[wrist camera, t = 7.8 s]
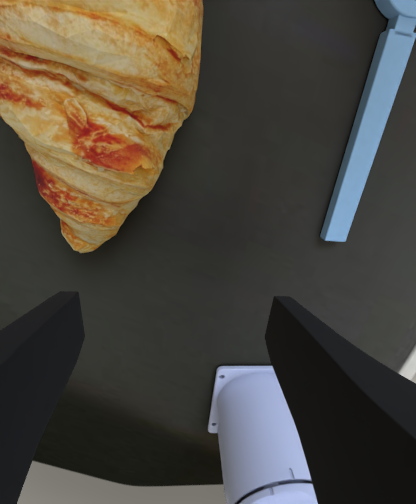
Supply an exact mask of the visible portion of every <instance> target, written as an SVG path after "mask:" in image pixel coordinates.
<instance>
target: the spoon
mask: <svg viewBox="0 0 416 504" xmlns="http://www.w3.org/2000/svg"><path fill="white" fill-rule="evenodd" d="M374 1H375V3H376V5H377V7H378V9H379V10H380V12H381V13H382V14H383V15H384V16H385V17H386V18H388V19H389V21H388V24H387V28H386V31H384V32H382V33H381V34H380V37H379V40H378V43H377V47H376V50H375V53H374V57H373V60H372V63H371V67H370V70H369V73H368V77H367V80H366V84H365V87H364V90H363V94H362V97H361V100H360V104H359V107H358V110H357V114H356V117H355V121H354V124H353V127H352V131H351V134H350V137H349V141H348V144H347V147H346V151H345V154H344V157H343V161H342V164H341V168H340V171H339V174H338V178H337V181H336V184H335V188H334V191H333V194H332V198H331V201H330V204H329V208H328V211H327V215H326V218H325V221H324V225H323V228H322V231H321V235H320V237H321V238H322V239H323V240H325V241H339V242H345V241H346V238H347V235H348V232H349V229H350V226H351V224H352V221H353V218H354V215H355V212H356V209H357V206H358V203H359V200H360V197H361V195H362V192H363V189H364V186H365V183H366V180H367V177H368V174H369V171H370V169H371V166H372V163H373V160H374V157H375V154H376V151H377V148H378V145H379V142H380V140H381V137H382V134H383V131H384V128H385V125H386V122H387V119H388V116H389V113H390V111H391V108H392V105H393V102H394V99H395V96H396V93H397V90H398V87H399V84H400V82H401V79H402V76H403V73H404V70H405V67H406V64H407V61H408V58H409V55H410V53H411V50H412V47H413V44H414V41H415V38H416V33H414V32H413V31H414V28H415V25H416V0H374Z"/></svg>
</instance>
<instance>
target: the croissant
mask: <svg viewBox="0 0 416 504" xmlns="http://www.w3.org/2000/svg"><path fill="white" fill-rule="evenodd" d="M202 22H203V1H202V0H0V116H1V117H2V118H3V120H4V121H5V122H6V123H7V124H8V125H10V126H11V127H12V128H13V129H14V130H15V132H16V133H18V135H19V137H20V138H21V139H22V140H23V141H24V142H25V147H26V149H27V151H28V153H29V155H30V156H31V160H32V164H33V169H34V173H35V178H36V183H37V187H38V190H39V192H40V194H41V196H42V197H43V198H44V199H45V200H46V201H47V202H48V204H49V205H50V206H51V208H52V209H53V210H54V211H55V213H56V215H57V216H58V217H59V218H60V222H61V229H62V230H61V233H62V235H63V236H64V237H65V239H66V240H67V242H68V243H69V244H70V246H71V247H72V248H73V250H76V251H79V252H80V253H85V252H90V251H93V250H95V249H97V248H98V247H99V246H100V245H101V244H103V243H104V242H105V241H107V240H109V239H110V238H111V237H113V236H115V235H116V234H117V232H118V230H119V228H120V226H121V225H122V224H123V222H124V220H125V219H126V217H127V216H128V214H129V213H130V212H131V211H132V210H133V209H134V208H135V207H136V206H137V205H138V202H139V200H140V199H141V198H142V197H143V196H145V195H147V194H148V193H149V192H150V191H151V190H152V188H153V186H154V185H155V183H156V181H157V179H158V177H159V175H160V173H161V171H162V169H163V160H164V158H165V155H166V153H167V150H169V149H170V147H171V144H172V141H173V138H174V134H175V132H176V131H177V130H178V128H179V127H181V126H182V123H183V120H185V119H187V118H188V117H189V115H190V114H191V112H192V110H193V106H194V103H195V94H196V90H197V86H198V77H199V68H200V59H201V36H202Z"/></svg>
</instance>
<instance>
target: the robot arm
mask: <svg viewBox="0 0 416 504" xmlns="http://www.w3.org/2000/svg"><path fill="white" fill-rule="evenodd" d="M84 337H85V334H84V327H83V320H82V313H81V307H80V300H79V293H78V292H61V291H60V292H59V293H57V294H55V295H54V296H52V297H50V298H49V299H47V300H46V301H44V302H43V303H41V304H40V305H38V306H37V307H35V308H34V309H32V310H31V311H29V312H28V313H26V314H25V315H23V316H22V317H20V318H19V319H17V320H16V321H14V322H13V323H11V324H10V325H8V326H7V327H5V328H4V329H2V330H0V504H17V501H18V498H19V496H20V493H21V490H22V487H23V484H24V481H25V479H26V476H27V473H28V471H29V468H30V465H31V463H32V460H33V457H34V455H35V452H36V449H37V447H38V444H39V442H40V439H41V437H42V435H43V432H44V430H45V428H46V426H47V424H48V422H49V420H50V417H51V415H52V413H53V411H54V409H55V407H56V405H57V403H58V401H59V399H60V396H61V394H62V392H63V390H64V388H65V386H66V384H67V382H68V380H69V377H70V375H71V373H72V371H73V369H74V367H75V364H76V362H77V359H78V356H79V353H80V350H81V347H82V344H83V341H84ZM265 340H266V345H267V349H268V353H269V357H270V361H271V364H272V366H220V367H218V368H217V371H216V377H215V384H214V390H213V397H212V403H211V410H210V416H209V423H208V431H209V432H210V433H218V439H219V448H220V457H221V465H222V474H223V483H224V491H225V498H226V503H227V504H416V384H415V383H414V382H412V381H410V380H408V379H407V378H405V377H403V376H401V375H400V374H398V373H396V372H395V371H393V370H391V369H390V368H388V367H387V366H385V365H383V364H382V363H380V362H378V361H377V360H375V359H374V358H372V357H371V356H369V355H367V354H366V353H364V352H363V351H362V350H360V349H359V348H357V347H356V346H354V345H353V344H351V343H350V342H349V341H347V340H346V339H344V338H343V337H342V336H340V335H339V334H338V333H336V332H335V331H334V330H332V329H331V328H330V327H328V326H327V325H326V324H324V323H323V322H322V321H321V320H319V319H318V318H317V317H316V316H314V315H313V314H312V313H310V312H309V311H308V310H307V309H305V308H304V307H303V306H302V305H300V304H299V303H298V302H296V301H295V300H294V299H292V298H291V297H286V296H274V299H273V303H272V308H271V312H270V316H269V321H268V325H267V329H266V334H265Z"/></svg>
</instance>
